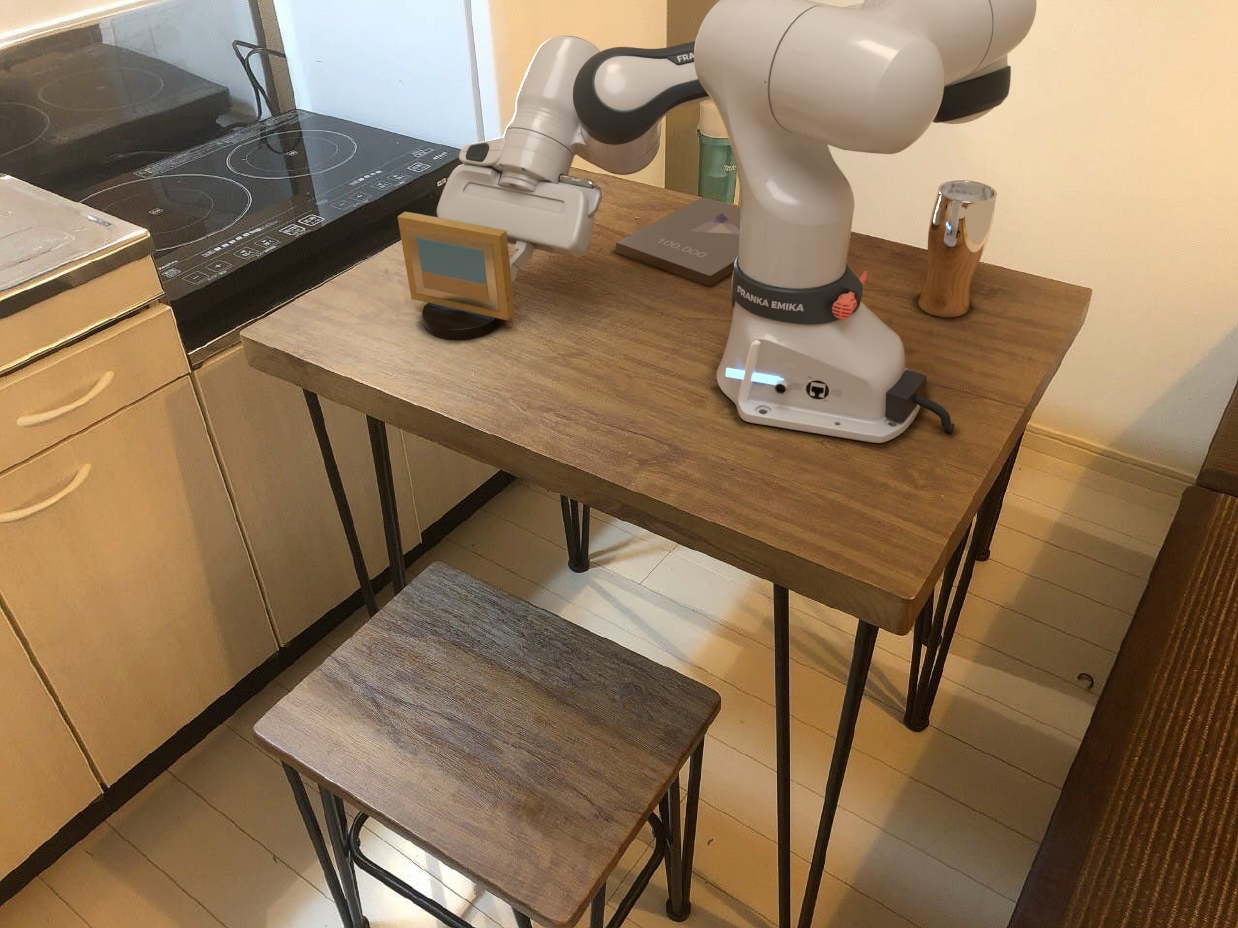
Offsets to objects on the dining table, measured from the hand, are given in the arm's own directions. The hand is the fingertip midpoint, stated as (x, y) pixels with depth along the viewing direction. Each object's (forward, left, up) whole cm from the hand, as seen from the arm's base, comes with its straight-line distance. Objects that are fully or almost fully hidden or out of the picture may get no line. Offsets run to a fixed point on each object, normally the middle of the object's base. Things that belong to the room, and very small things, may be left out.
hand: (494, 275), depth 117 cm
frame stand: (+4, +2, -6) cm, 8 cm away
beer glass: (-48, -28, -6) cm, 56 cm away
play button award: (-14, -31, -6) cm, 35 cm away
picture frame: (+4, +2, -4) cm, 6 cm away
